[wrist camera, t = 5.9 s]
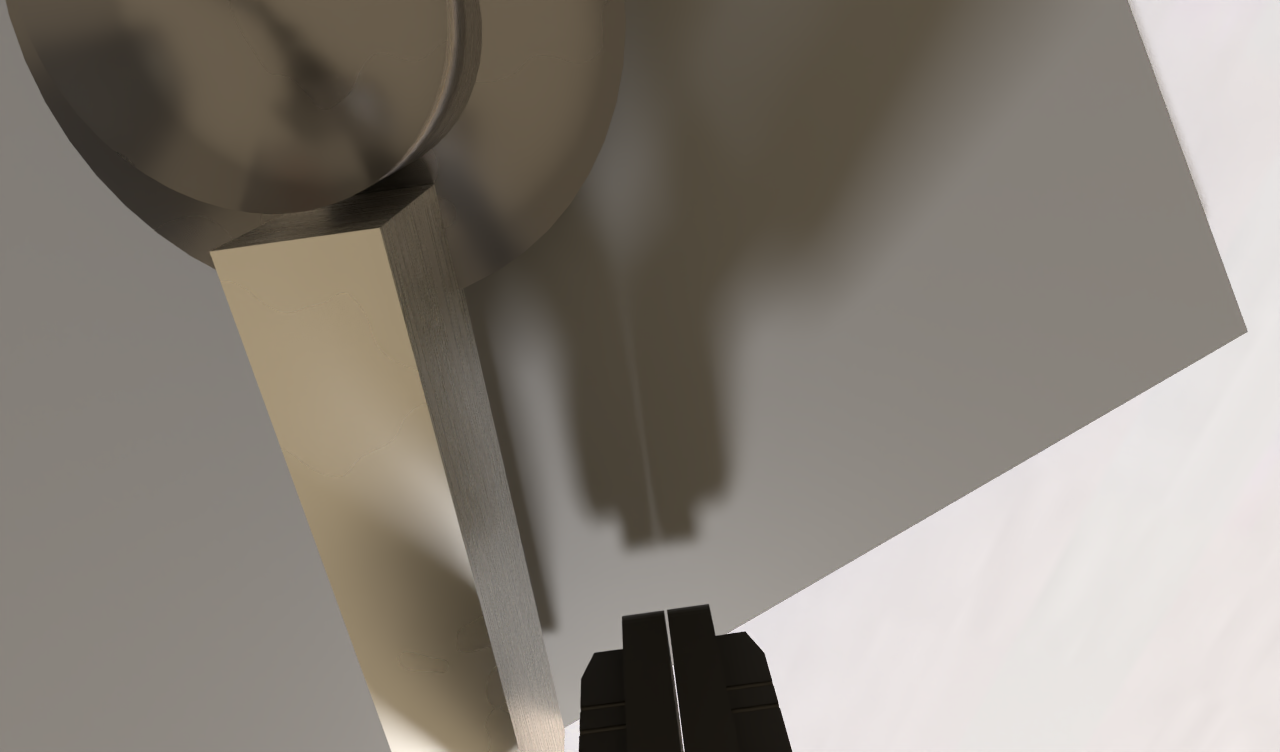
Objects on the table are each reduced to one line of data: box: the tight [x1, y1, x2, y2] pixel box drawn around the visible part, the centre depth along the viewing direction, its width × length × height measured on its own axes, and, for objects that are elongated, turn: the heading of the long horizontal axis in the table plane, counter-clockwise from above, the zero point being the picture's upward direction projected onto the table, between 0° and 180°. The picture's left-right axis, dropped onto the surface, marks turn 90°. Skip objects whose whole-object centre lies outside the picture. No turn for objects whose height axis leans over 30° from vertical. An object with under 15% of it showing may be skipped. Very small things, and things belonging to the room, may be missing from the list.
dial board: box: [0, 0, 1248, 752], centre depth 11 cm, size 24×24×2 cm
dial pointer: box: [6, 0, 626, 752], centre depth 10 cm, size 16×7×4 cm, turn 7°
